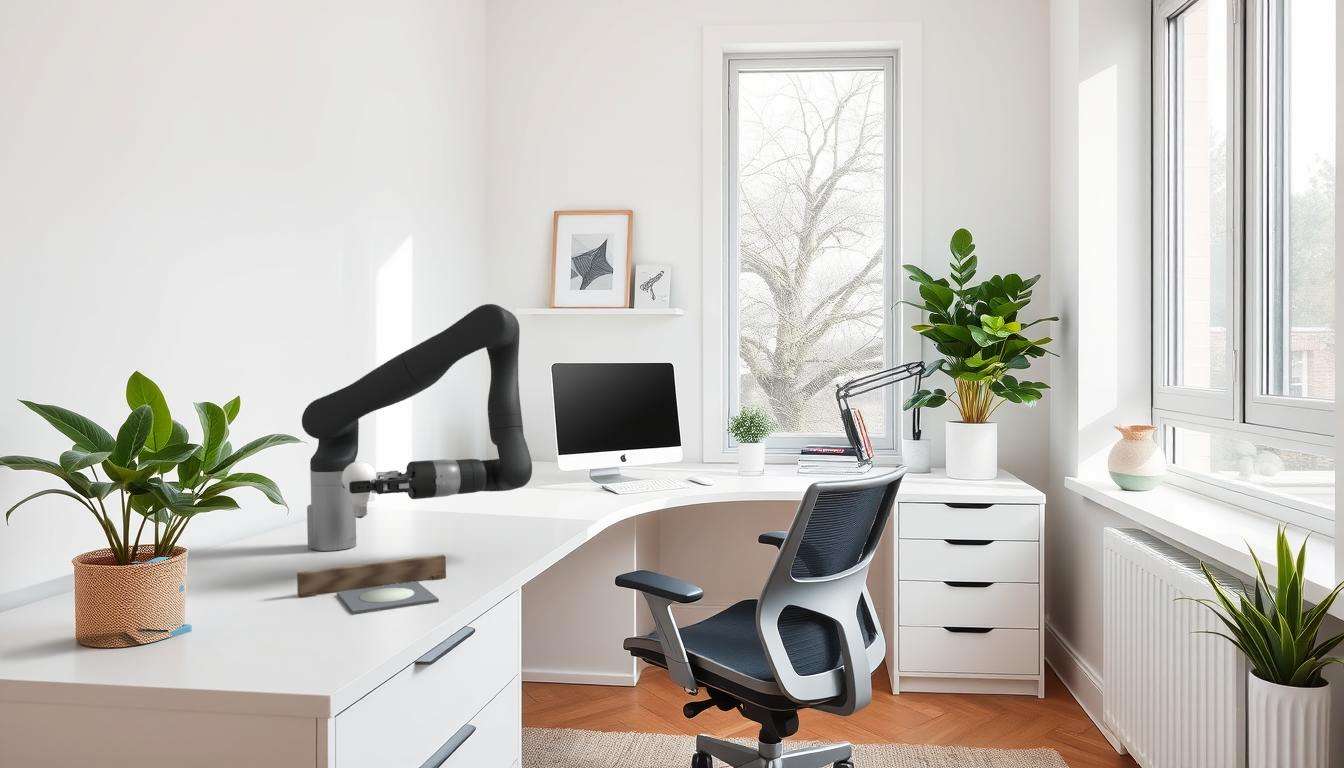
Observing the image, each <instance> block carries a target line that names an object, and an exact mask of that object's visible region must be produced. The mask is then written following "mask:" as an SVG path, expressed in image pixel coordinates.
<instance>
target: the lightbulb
mask: <svg viewBox="0 0 1344 768" xmlns="http://www.w3.org/2000/svg"><path fill="white" fill-rule="evenodd" d="M376 473H377V472H376V469H375V468H374V467H373V466H372V465H371V464H370V463H368V462H366V461H363V460H358V461H355V462H353V463H351V464H349V465H348V466H347V467H346V468H345V469H344V471H343V474H342V483H343V485H344V487H345V489H346V490H347V491H348V493H349V495H350V499H351V501H352V505H353V516H355V517H356V519H362V518H364V517H366V516H367V515H368V501H369V498H370V494H371V491H370V492H365V493H353V494H352V493H350V491H349V483H350V482H352V481H366V480H370V482H371V480H373V479H377V475H376Z"/></svg>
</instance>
